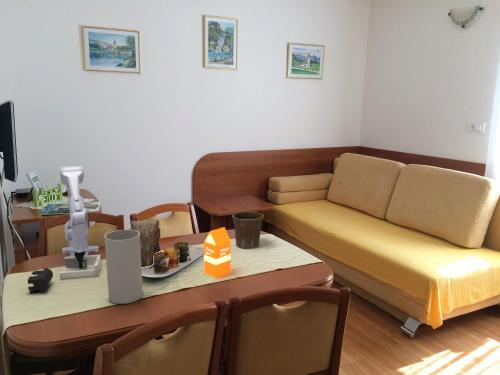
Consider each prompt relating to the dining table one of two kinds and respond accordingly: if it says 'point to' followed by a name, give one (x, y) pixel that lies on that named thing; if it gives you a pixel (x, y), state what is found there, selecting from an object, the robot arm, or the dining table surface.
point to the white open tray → (90, 271)
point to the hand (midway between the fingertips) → (81, 267)
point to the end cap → (40, 281)
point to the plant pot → (247, 229)
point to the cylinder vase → (123, 266)
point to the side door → (74, 263)
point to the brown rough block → (147, 239)
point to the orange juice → (217, 253)
